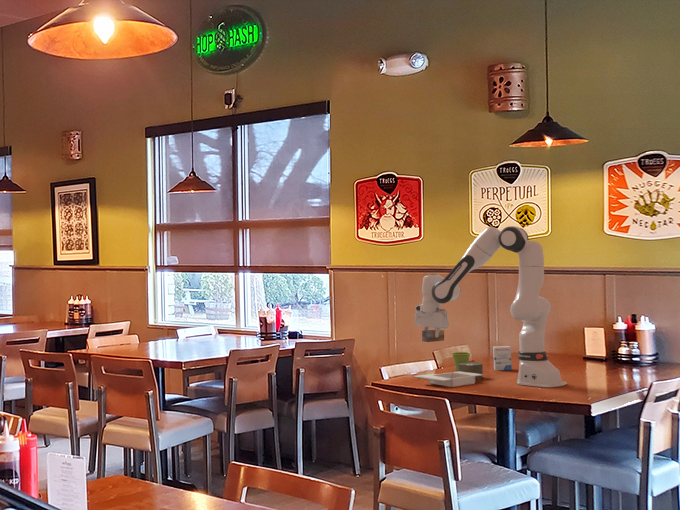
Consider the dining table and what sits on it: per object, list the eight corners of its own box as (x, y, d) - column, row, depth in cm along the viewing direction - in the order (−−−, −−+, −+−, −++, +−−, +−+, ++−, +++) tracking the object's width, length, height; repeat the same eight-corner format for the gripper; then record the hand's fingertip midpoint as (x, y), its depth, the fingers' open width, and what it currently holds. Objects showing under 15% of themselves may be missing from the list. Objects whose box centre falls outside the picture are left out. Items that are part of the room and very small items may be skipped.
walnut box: (444, 340, 386) (444, 329, 386) (428, 342, 381) (428, 331, 380) (437, 339, 390) (437, 329, 390) (422, 341, 384) (422, 330, 384)
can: (483, 376, 388) (483, 361, 389) (482, 379, 377) (482, 365, 377) (458, 375, 391) (458, 361, 391) (456, 379, 379) (456, 365, 379)
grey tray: (483, 382, 370) (483, 374, 370) (443, 388, 355) (443, 380, 355) (460, 378, 382) (460, 371, 382) (421, 384, 367) (420, 376, 367)
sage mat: (448, 377, 386) (448, 376, 386) (430, 380, 379) (430, 378, 379) (432, 374, 396) (431, 373, 396) (413, 377, 389) (413, 376, 389)
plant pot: (465, 372, 402) (465, 354, 402) (448, 370, 408) (448, 353, 408) (474, 369, 410) (473, 352, 410) (457, 368, 416) (457, 351, 416)
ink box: (510, 369, 410) (510, 345, 410) (511, 370, 405) (511, 346, 405) (493, 369, 411) (493, 346, 411) (494, 370, 406) (493, 347, 406)
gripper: (451, 308, 378) (451, 337, 378) (422, 306, 395) (422, 334, 395) (441, 309, 375) (441, 338, 375) (412, 306, 391) (412, 335, 391)
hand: (431, 336), depth 385 cm, fingers closed on walnut box, 4 cm apart
